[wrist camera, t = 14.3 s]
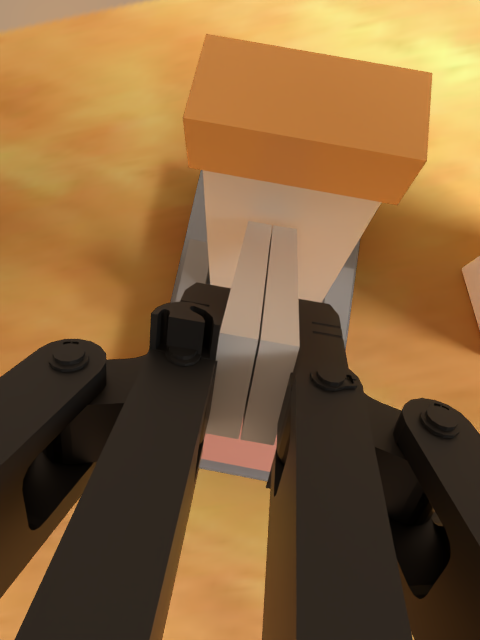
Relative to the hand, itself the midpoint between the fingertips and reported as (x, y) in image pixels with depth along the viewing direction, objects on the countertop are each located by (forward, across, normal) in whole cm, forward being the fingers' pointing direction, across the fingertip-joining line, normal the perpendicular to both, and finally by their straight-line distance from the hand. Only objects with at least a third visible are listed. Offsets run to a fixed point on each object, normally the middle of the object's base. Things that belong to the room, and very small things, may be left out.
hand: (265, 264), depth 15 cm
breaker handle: (+8, 0, +6) cm, 10 cm away
